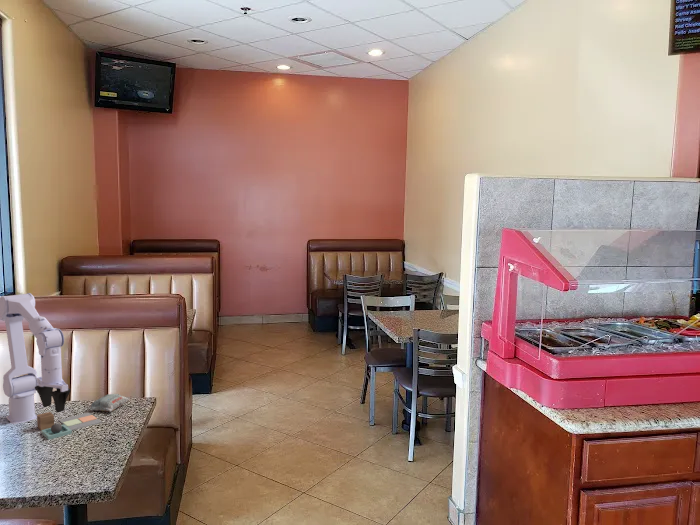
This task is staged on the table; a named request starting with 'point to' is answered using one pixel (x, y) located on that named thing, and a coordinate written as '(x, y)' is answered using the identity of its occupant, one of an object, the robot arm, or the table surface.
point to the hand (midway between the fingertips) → (53, 408)
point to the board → (80, 421)
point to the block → (45, 420)
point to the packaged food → (109, 402)
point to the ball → (56, 428)
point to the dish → (63, 432)
